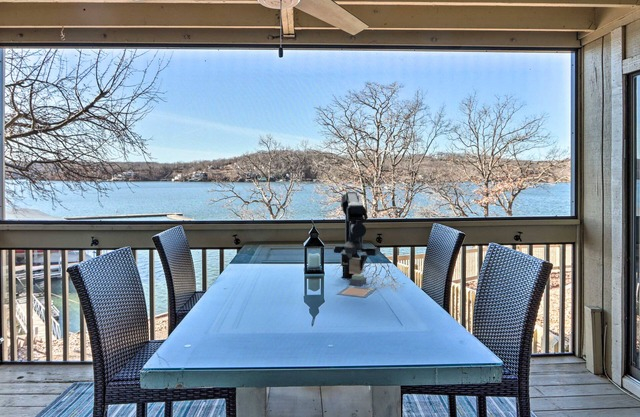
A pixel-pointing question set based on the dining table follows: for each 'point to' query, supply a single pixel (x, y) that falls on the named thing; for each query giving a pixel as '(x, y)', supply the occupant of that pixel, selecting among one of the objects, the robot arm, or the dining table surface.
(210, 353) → the dining table surface
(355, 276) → the button
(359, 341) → the dining table surface
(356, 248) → the robot arm
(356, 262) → the block
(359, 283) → the button housing
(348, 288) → the picture mat
